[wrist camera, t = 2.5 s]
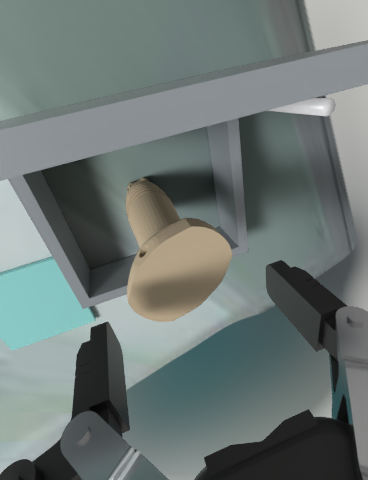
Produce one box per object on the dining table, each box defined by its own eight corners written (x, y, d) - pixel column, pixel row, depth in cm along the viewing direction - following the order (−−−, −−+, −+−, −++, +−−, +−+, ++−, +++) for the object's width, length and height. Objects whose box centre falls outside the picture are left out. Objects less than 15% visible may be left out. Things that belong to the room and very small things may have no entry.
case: (1, 119, 21) (-310, 203, 5) (218, 69, 23) (477, 17, 8) (84, 279, 30) (72, 491, 14) (234, 229, 32) (368, 357, 17)
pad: (-41, 285, 26) (-44, 289, 25) (60, 253, 27) (59, 256, 27) (13, 346, 31) (12, 350, 31) (95, 317, 33) (95, 320, 32)
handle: (103, 204, 26) (109, 304, 14) (140, 151, 25) (186, 209, 12) (141, 227, 29) (177, 330, 16) (177, 181, 27) (247, 254, 15)
